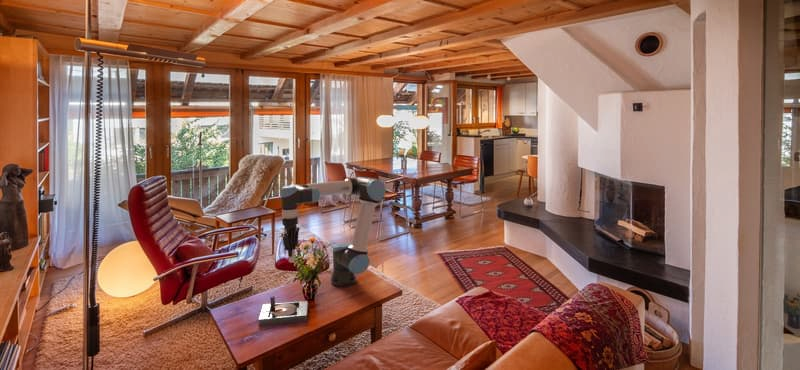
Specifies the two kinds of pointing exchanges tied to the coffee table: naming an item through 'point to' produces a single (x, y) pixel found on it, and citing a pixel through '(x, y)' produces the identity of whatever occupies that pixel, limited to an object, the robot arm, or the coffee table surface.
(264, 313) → the dial housing
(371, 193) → the robot arm
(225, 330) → the coffee table surface
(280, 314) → the dial
